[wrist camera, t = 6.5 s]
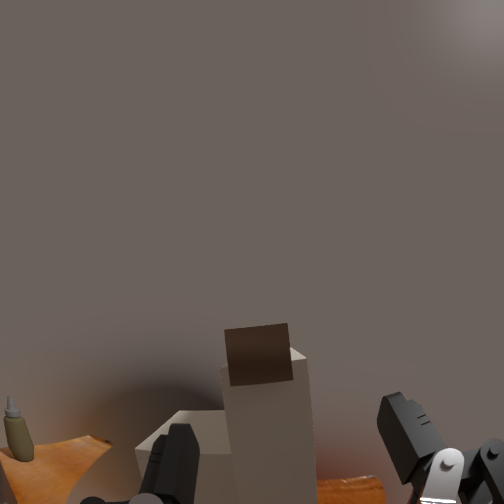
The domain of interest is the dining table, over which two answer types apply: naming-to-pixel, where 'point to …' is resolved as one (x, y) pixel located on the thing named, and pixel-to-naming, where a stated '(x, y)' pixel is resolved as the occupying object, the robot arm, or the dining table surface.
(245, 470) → the display stand
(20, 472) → the dining table surface
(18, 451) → the squeeze bottle
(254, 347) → the brown bar
